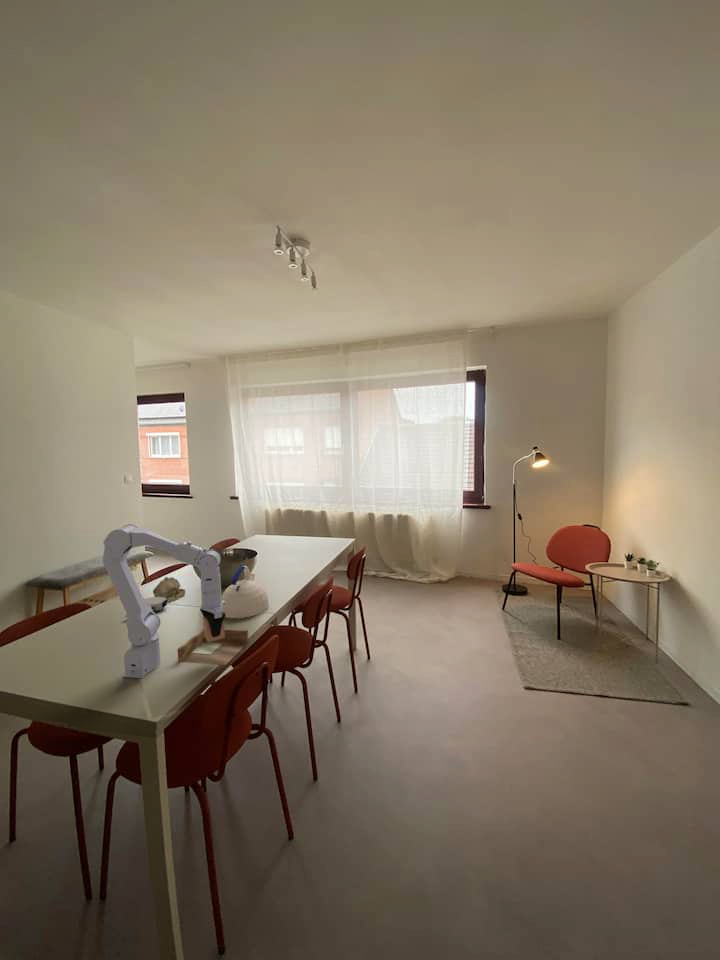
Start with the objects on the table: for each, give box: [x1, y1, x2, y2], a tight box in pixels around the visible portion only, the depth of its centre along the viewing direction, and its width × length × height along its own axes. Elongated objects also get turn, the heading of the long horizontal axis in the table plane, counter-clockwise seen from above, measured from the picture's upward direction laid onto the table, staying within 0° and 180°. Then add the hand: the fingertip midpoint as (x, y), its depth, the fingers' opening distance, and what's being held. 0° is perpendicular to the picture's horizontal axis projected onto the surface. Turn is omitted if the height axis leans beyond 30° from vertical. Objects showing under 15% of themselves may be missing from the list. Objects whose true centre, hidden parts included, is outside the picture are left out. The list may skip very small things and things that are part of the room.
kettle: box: [221, 565, 270, 619], centre depth 164 cm, size 20×21×18 cm
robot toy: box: [125, 596, 171, 618], centre depth 163 cm, size 12×4×15 cm
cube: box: [202, 616, 225, 642], centre depth 123 cm, size 5×5×6 cm
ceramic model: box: [152, 576, 186, 604], centre depth 179 cm, size 14×11×10 cm
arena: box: [177, 628, 249, 666], centre depth 128 cm, size 15×16×5 cm
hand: (213, 632), depth 123 cm, fingers closed on cube, 5 cm apart
